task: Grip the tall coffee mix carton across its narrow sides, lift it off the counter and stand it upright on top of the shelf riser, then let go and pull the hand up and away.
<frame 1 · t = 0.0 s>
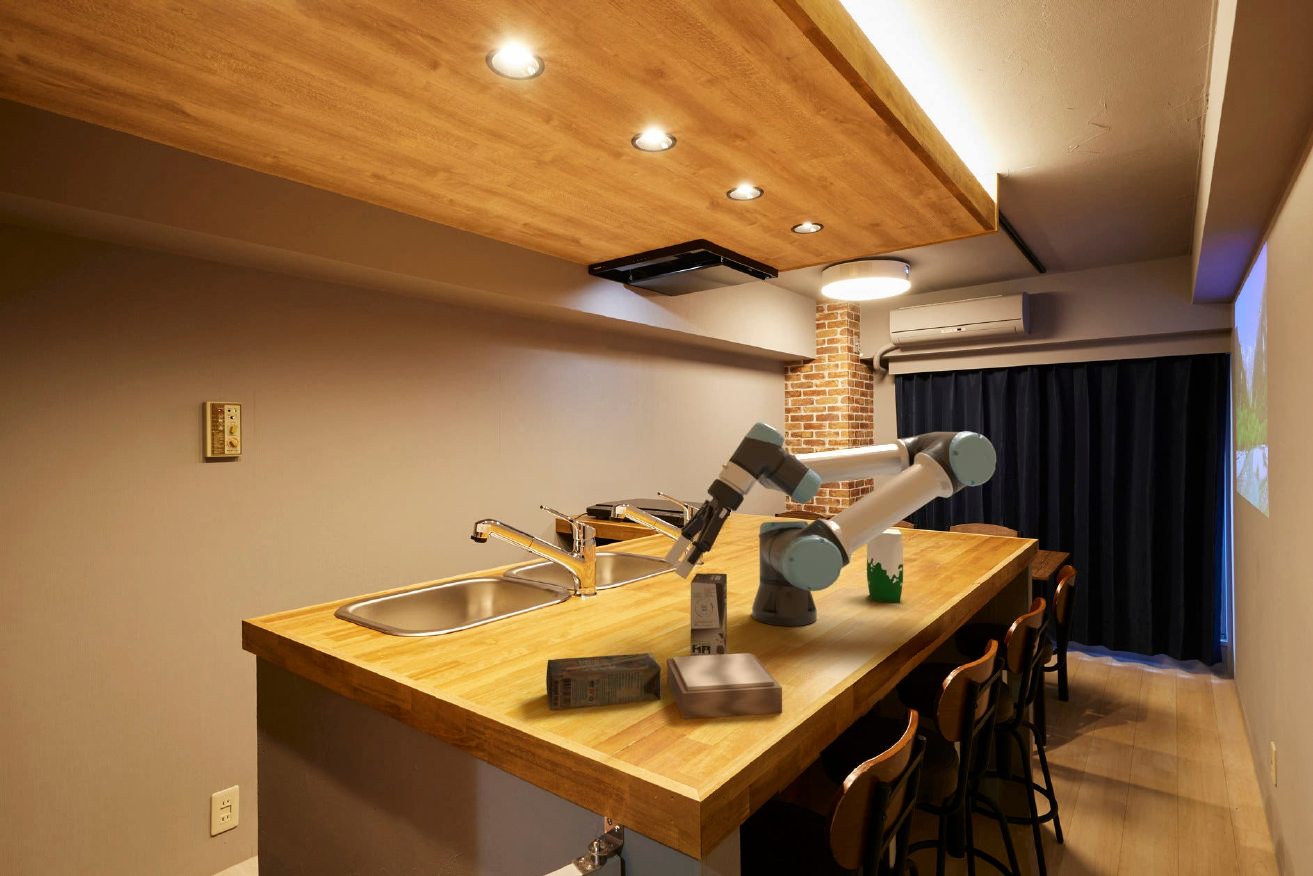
hand: (673, 568, 144), 15 cm above the worktop, tool tilted 35°, fingers open, 13 cm apart
milk carton: (884, 599, 179), on the worktop
shelf riser: (721, 695, 114), on the worktop
beverage carton: (603, 699, 114), on the worktop
coffee box: (709, 660, 132), on the worktop
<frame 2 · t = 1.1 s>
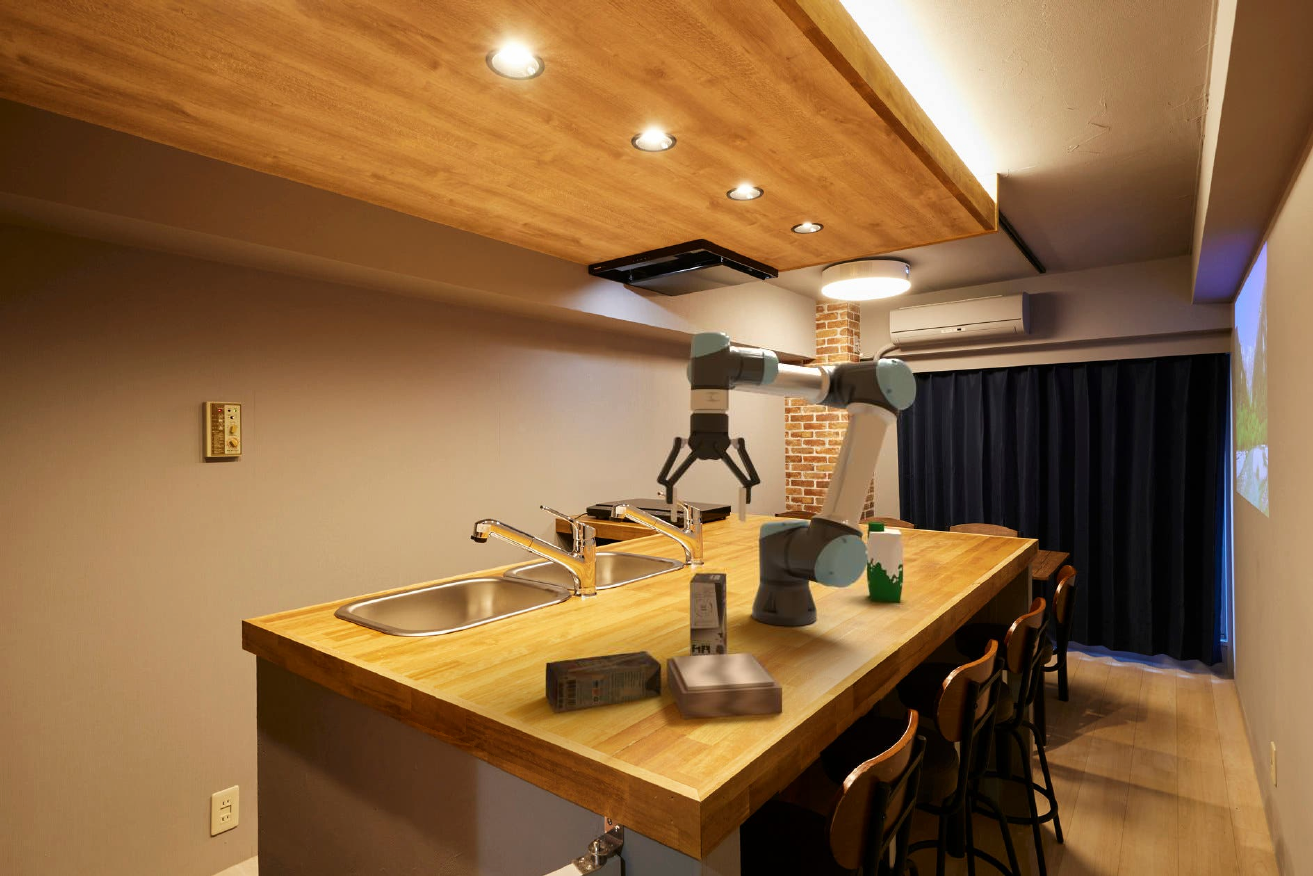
hand: (708, 521, 132), 27 cm above the worktop, tool pointing down, fingers open, 13 cm apart
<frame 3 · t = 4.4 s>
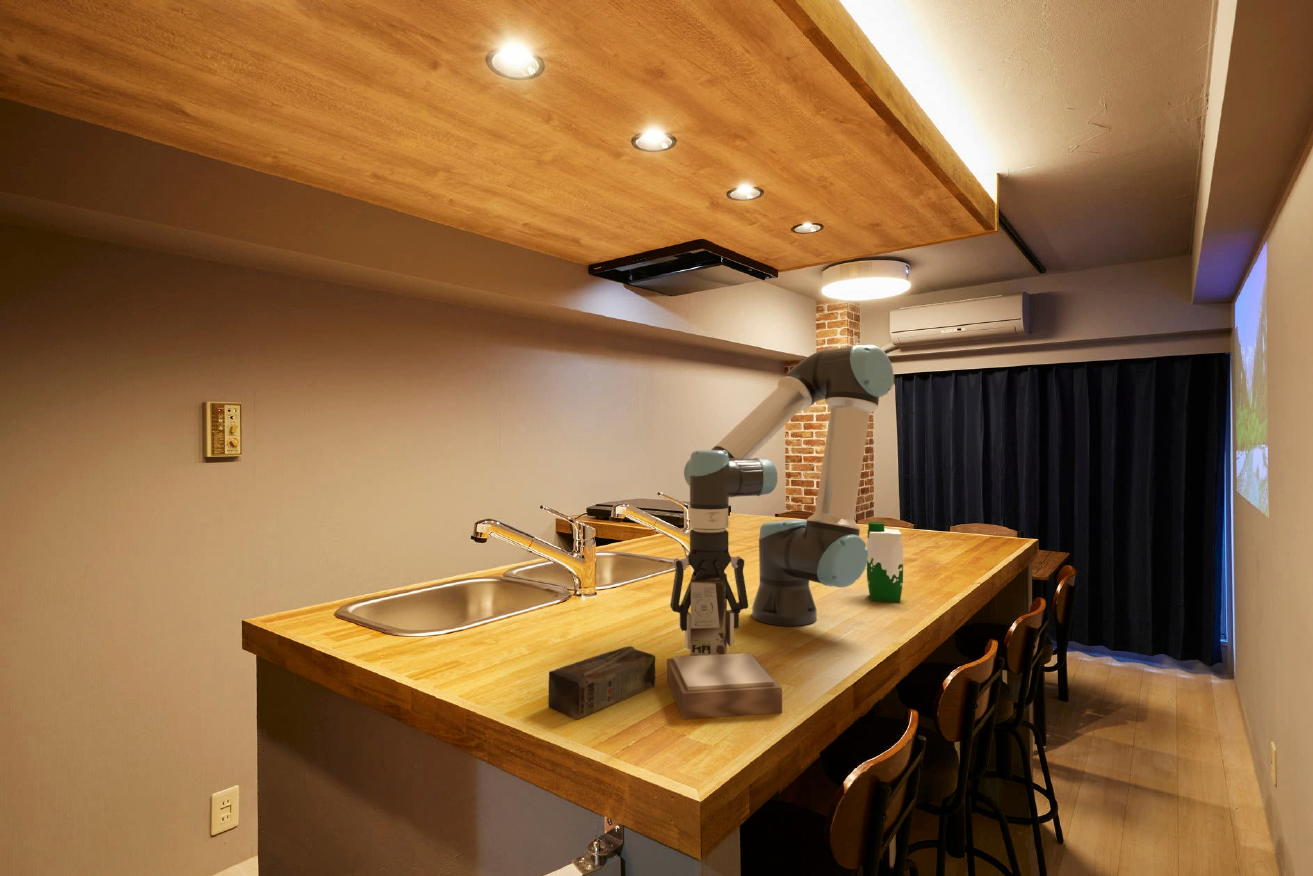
hand: (709, 645, 132), 3 cm above the worktop, tool pointing down, fingers closed on coffee box, 8 cm apart
coffee box: (709, 660, 132), on the worktop, touching gripper
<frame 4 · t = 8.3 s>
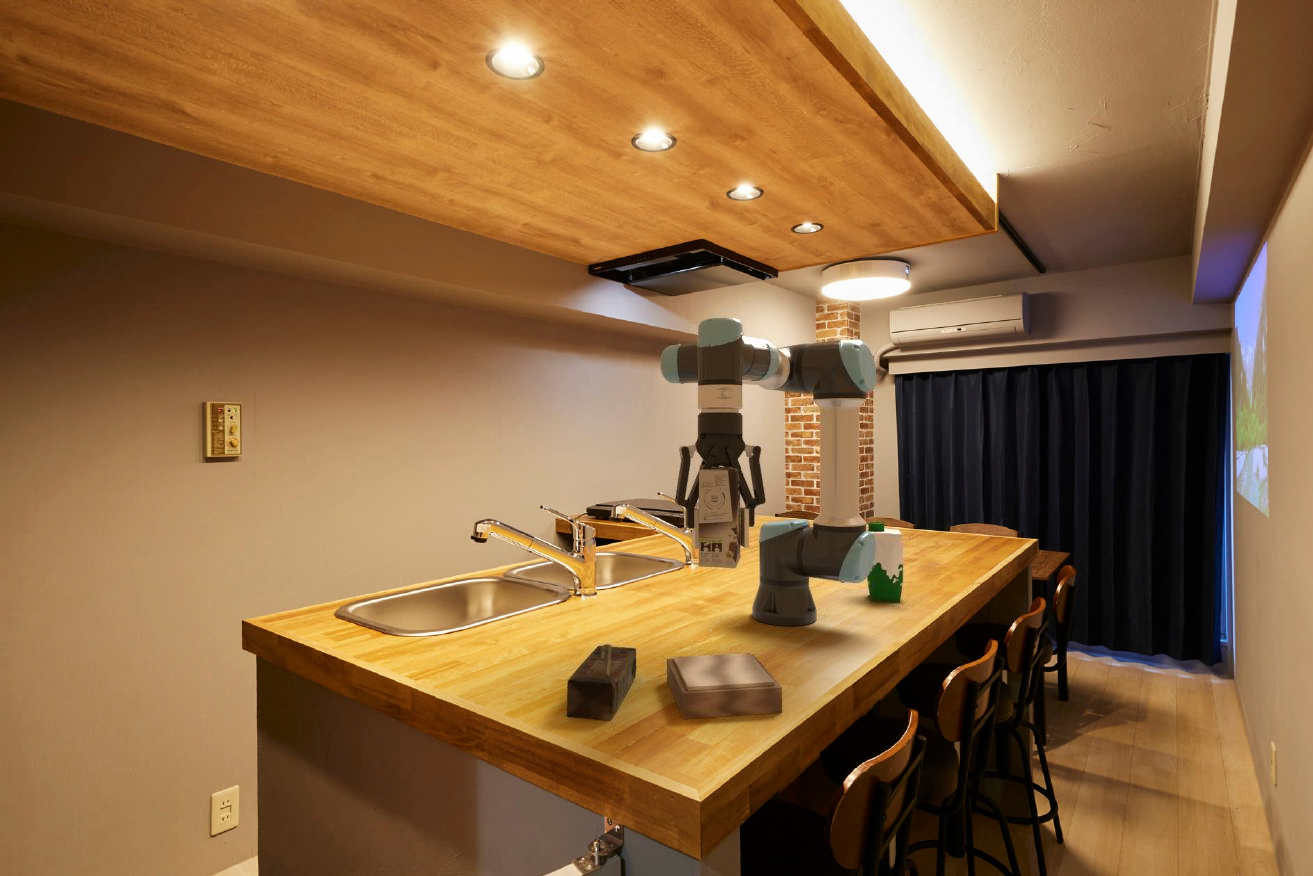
hand: (720, 546, 114), 25 cm above the worktop, tool pointing down, fingers closed on coffee box, 8 cm apart
coffee box: (720, 563, 114), point 22 cm above the worktop, touching gripper
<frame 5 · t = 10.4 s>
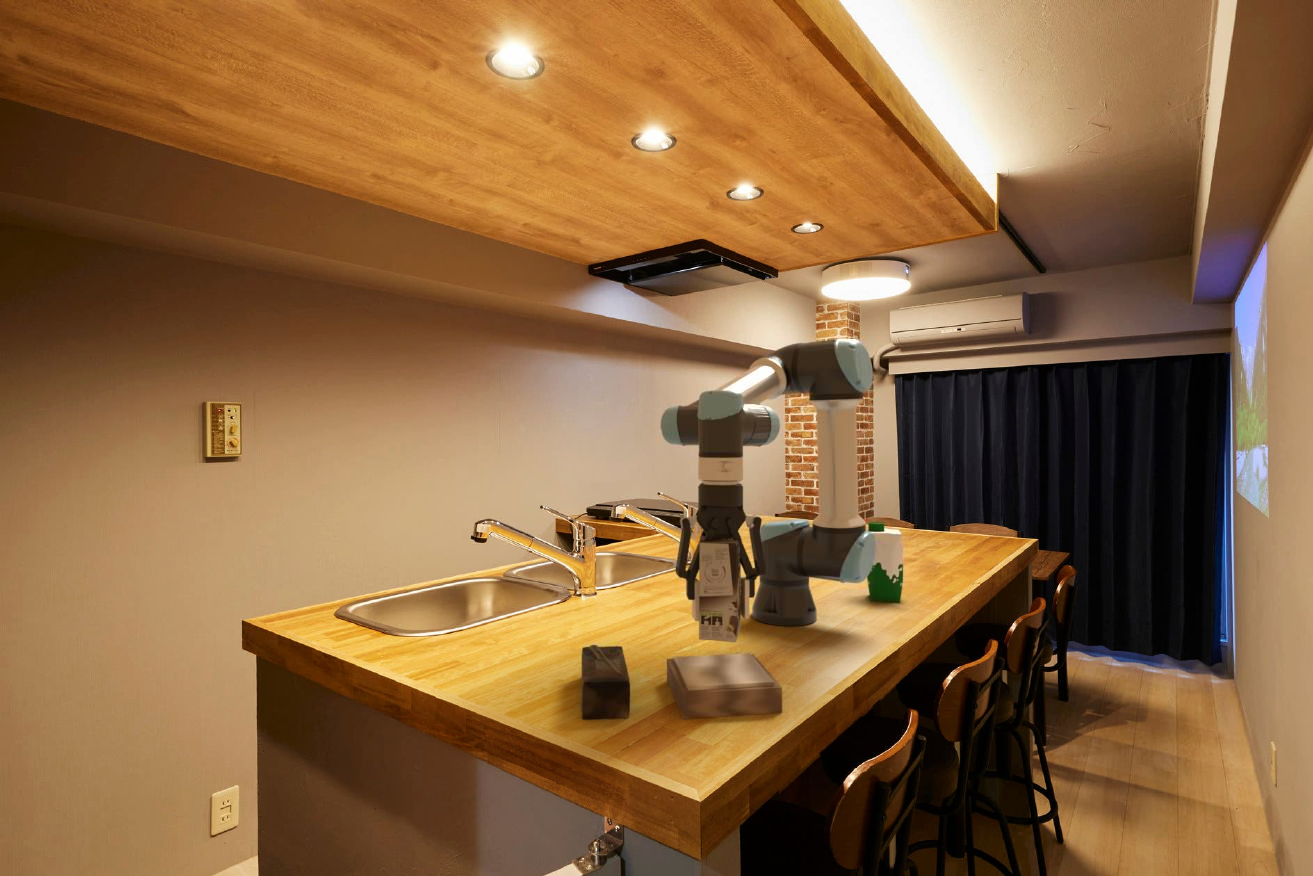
hand: (720, 617, 114), 13 cm above the worktop, tool pointing down, fingers closed on coffee box, 8 cm apart
coffee box: (720, 634, 114), point 10 cm above the worktop, touching gripper
when the fingers open (8 cm above the worktop, at t = 12.3 s): coffee box stays where it is, resting on shelf riser.
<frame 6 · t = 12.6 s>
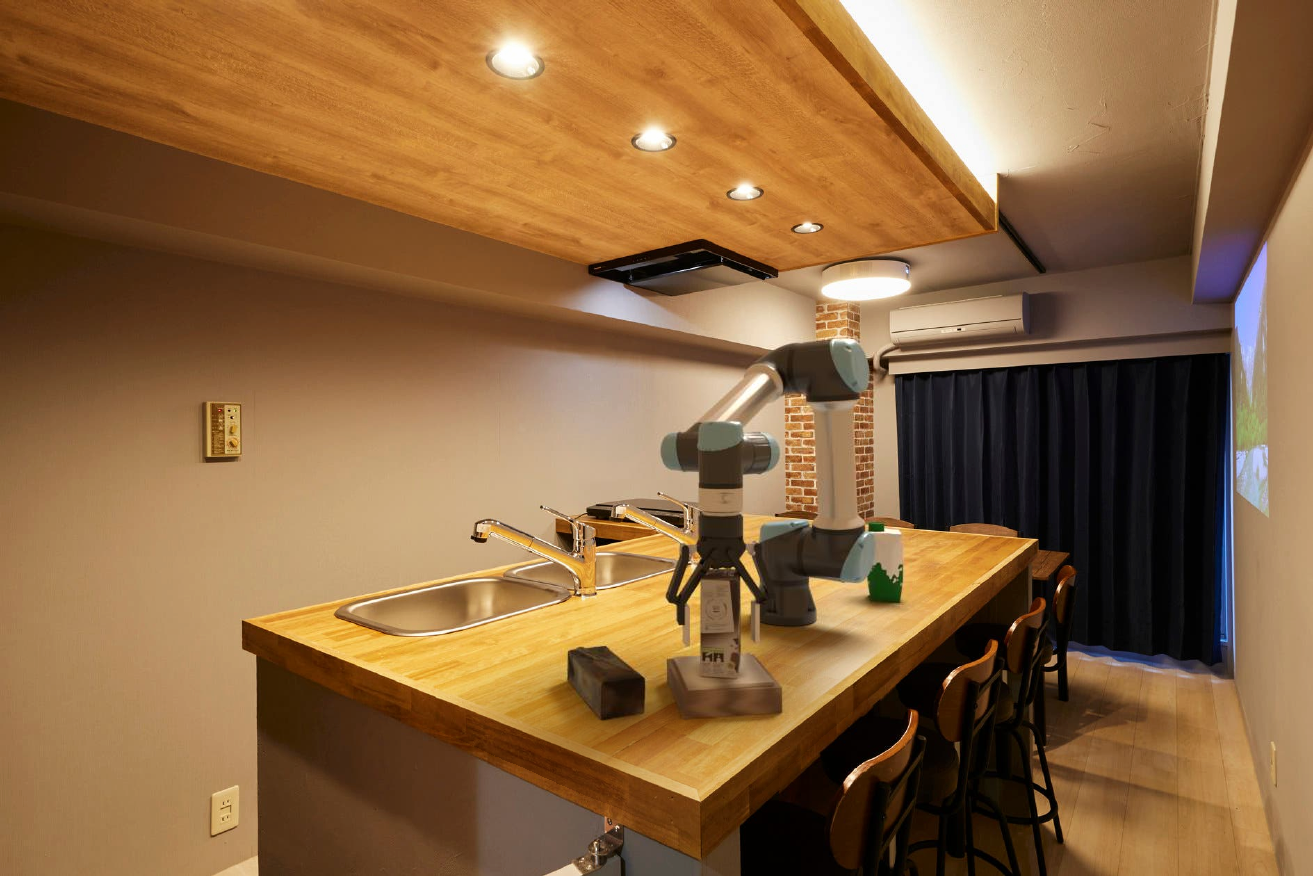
hand: (720, 642, 114), 9 cm above the worktop, tool pointing down, fingers open, 11 cm apart
coffee box: (721, 669, 114), point 4 cm above the worktop, touching shelf riser
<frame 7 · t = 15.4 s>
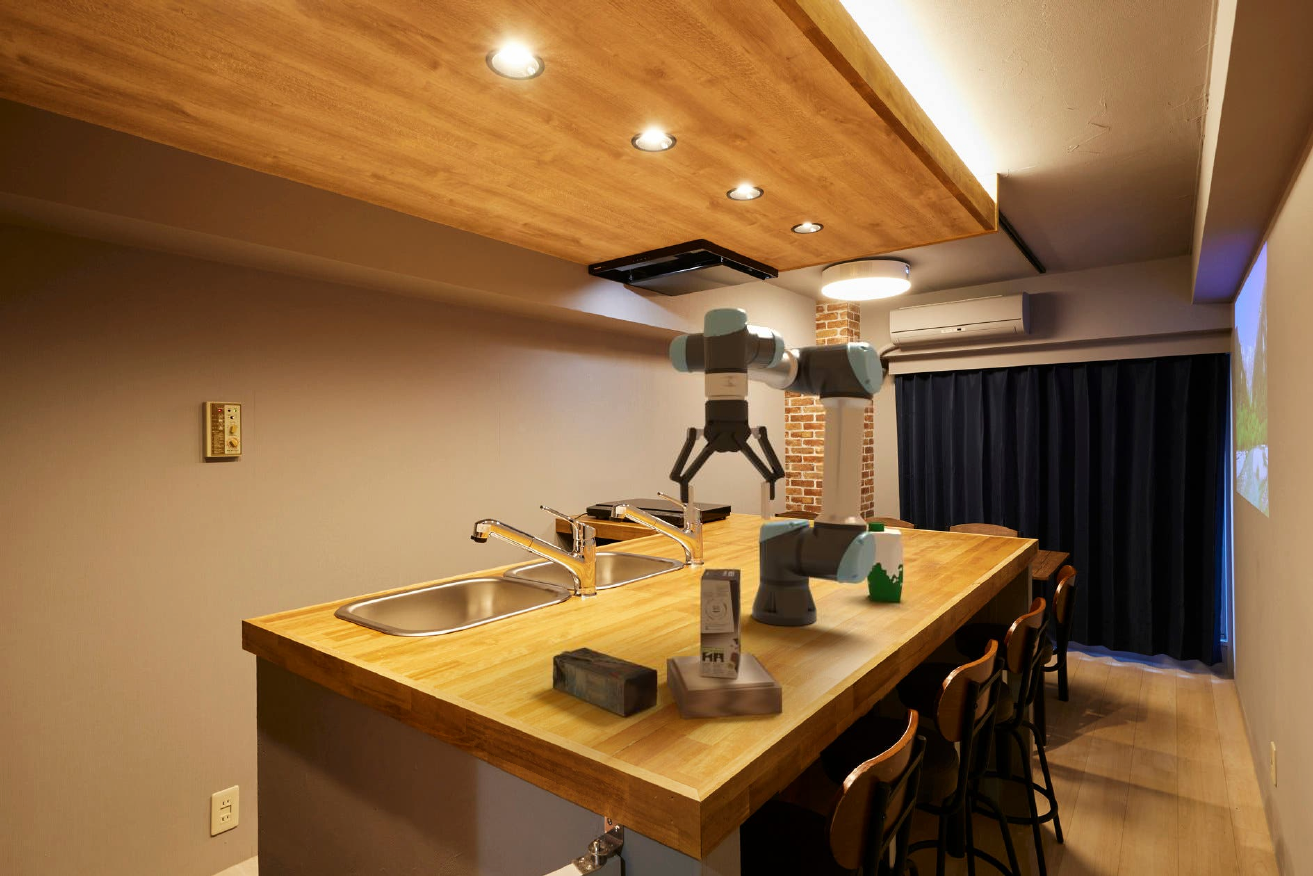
hand: (728, 520, 118), 29 cm above the worktop, tool pointing down, fingers open, 13 cm apart
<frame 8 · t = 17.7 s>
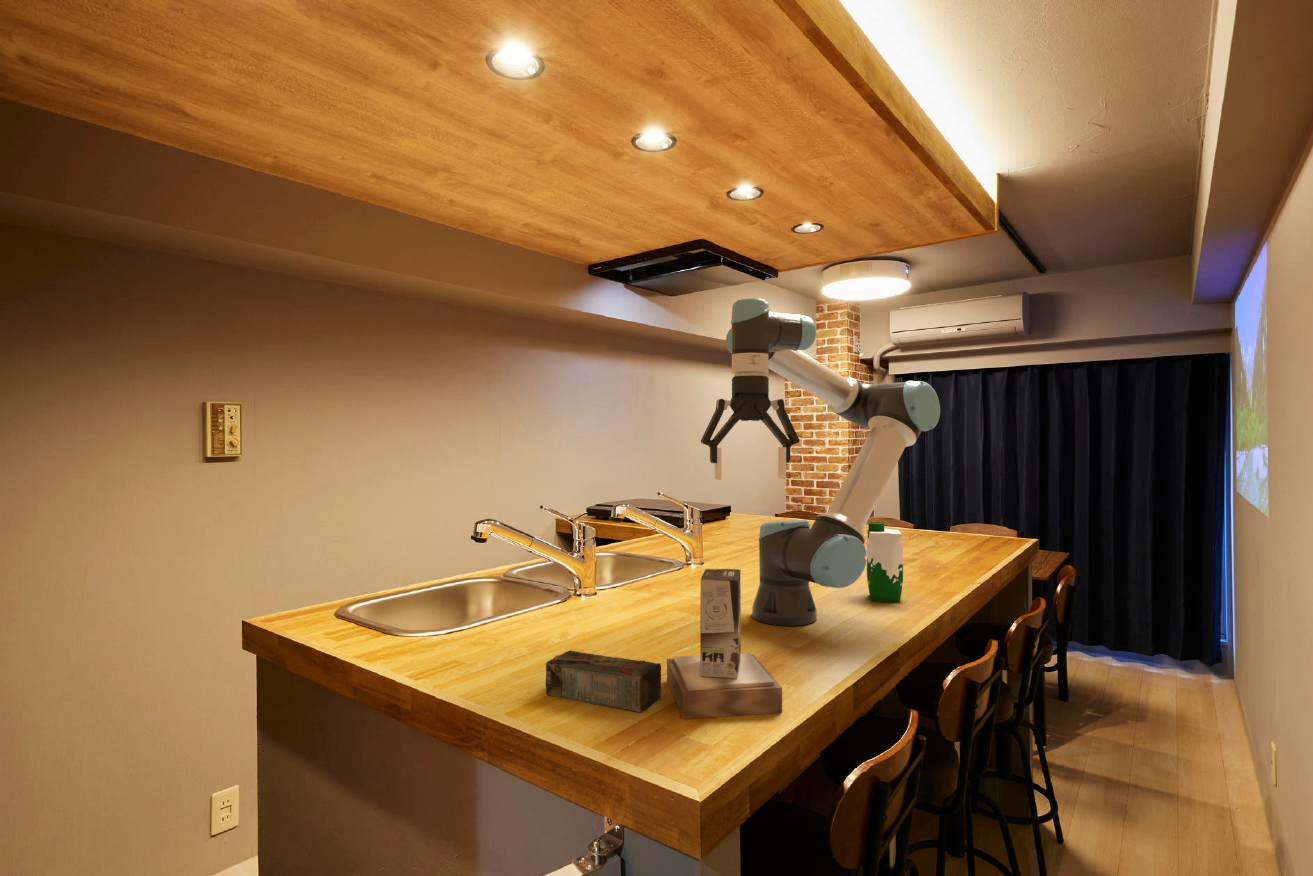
hand: (750, 479, 139), 35 cm above the worktop, tool pointing down, fingers open, 13 cm apart
at the end: coffee box inside the target area on the shelf riser (0.1 cm from its centre), point 4.4 cm above the shelf riser's base; coffee box tilted 0°; the gripper is holding nothing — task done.
